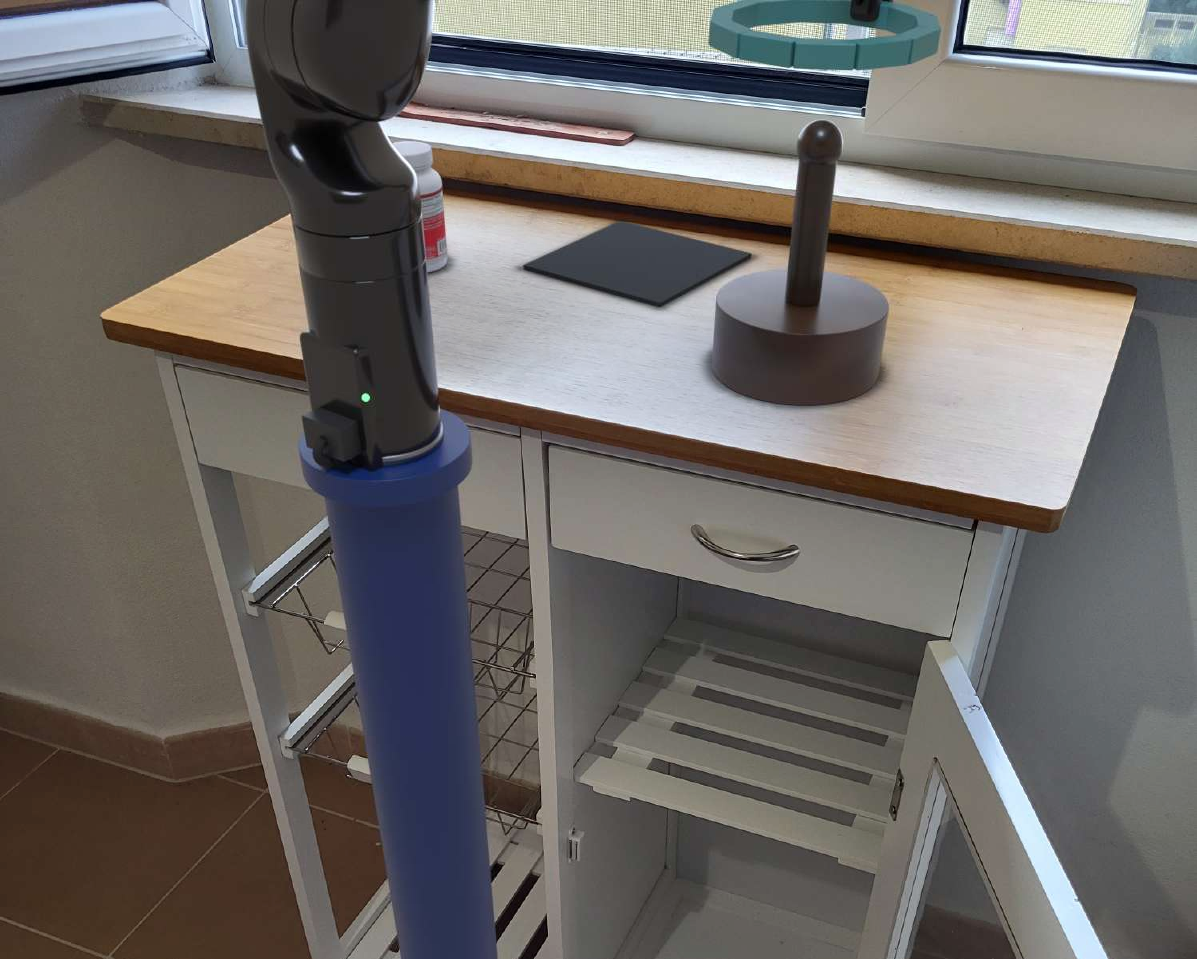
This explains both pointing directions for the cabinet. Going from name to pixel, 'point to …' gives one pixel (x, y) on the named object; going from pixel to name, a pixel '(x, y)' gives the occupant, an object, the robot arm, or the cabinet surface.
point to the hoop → (822, 4)
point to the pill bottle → (428, 201)
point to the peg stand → (802, 305)
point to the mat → (638, 262)
